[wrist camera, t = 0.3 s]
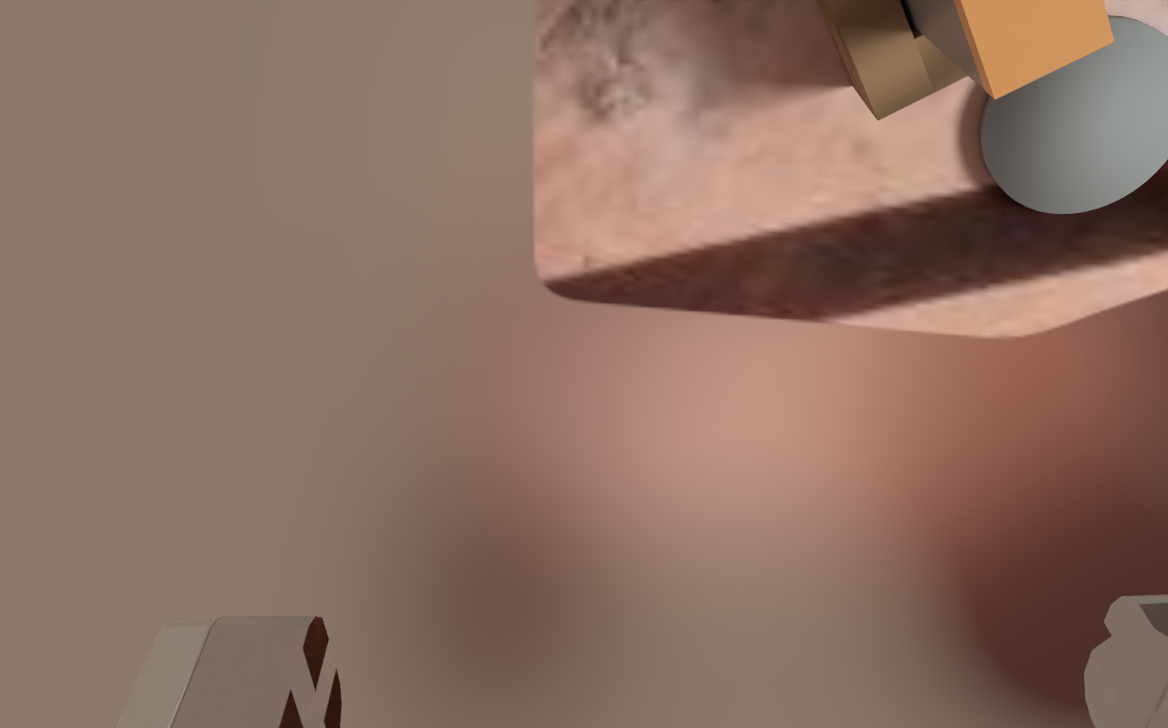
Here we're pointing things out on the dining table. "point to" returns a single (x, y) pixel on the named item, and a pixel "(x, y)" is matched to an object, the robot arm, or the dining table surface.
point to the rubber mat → (1083, 126)
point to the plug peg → (1011, 36)
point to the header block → (886, 54)
